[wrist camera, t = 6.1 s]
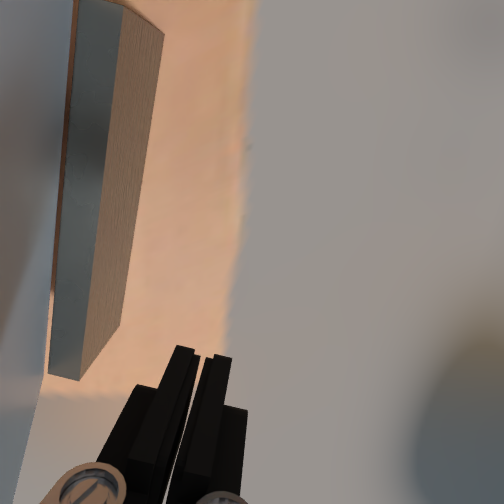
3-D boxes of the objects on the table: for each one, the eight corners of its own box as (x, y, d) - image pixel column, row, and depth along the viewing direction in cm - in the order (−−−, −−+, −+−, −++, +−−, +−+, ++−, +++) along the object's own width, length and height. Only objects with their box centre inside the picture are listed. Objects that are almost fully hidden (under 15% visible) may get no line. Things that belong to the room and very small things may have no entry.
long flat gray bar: (132, 25, 24) (79, -7, 17) (164, 34, 24) (123, 5, 17) (94, 319, 31) (47, 373, 25) (119, 325, 31) (79, 381, 25)
